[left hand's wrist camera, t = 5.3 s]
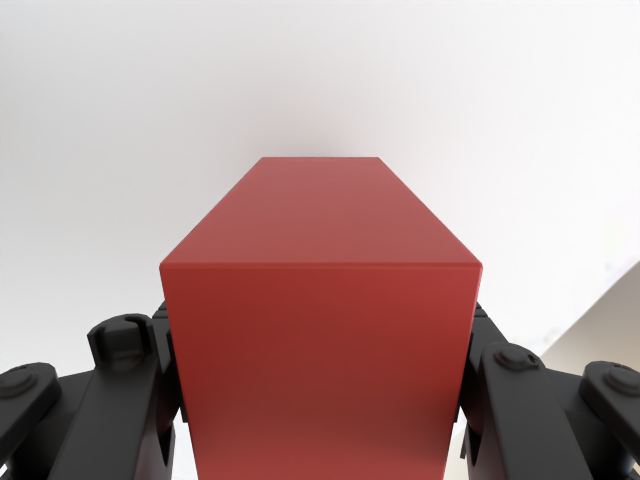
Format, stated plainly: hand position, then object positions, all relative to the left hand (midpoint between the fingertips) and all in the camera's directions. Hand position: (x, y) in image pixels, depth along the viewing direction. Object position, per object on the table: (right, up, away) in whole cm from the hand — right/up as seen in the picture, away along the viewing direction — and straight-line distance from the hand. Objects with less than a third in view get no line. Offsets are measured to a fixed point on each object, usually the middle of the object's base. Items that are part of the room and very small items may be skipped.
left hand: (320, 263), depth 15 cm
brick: (0, +1, +3) cm, 4 cm away
